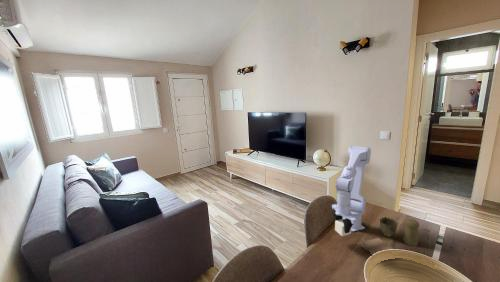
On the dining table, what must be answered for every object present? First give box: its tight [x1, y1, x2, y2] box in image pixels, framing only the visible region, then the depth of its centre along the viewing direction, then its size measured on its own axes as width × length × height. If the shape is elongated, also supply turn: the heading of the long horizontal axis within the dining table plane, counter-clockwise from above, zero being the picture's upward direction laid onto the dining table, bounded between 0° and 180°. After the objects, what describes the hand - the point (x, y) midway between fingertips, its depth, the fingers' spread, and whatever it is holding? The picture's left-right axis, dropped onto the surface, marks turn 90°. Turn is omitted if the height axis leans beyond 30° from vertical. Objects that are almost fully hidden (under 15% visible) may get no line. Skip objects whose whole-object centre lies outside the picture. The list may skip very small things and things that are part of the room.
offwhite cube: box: [334, 219, 352, 237], centre depth 100 cm, size 5×5×5 cm
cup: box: [379, 216, 399, 238], centre depth 106 cm, size 8×7×8 cm
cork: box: [402, 218, 420, 247], centre depth 100 cm, size 6×6×11 cm
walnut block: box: [362, 237, 394, 255], centre depth 96 cm, size 9×9×3 cm
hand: (343, 229), depth 101 cm, fingers closed on offwhite cube, 5 cm apart
